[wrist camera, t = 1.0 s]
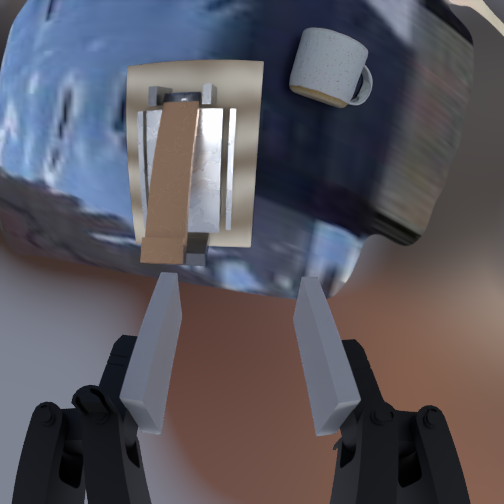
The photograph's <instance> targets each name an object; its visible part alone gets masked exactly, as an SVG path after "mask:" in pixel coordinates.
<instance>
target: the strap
mask: <svg viewBox="0 0 504 504" xmlns="http://www.w3.org/2000/svg"><path fill="white" fill-rule="evenodd" d="M200 106H201V92H175V93H165V95H164V104H163V109H162V114H161V119H160V124H159V129H158V135H157V141H156V147H155V153H154V159H153V166H152V173H151V181H150V189H149V198H148V207H147V218H146V230H145V237H142V244H141V262H143V263H155V264H178V265H186V255H187V235H188V219H189V205H190V192H191V181H192V170H193V160H194V151H195V142H196V134H197V125H198V118H199V110H200Z"/></svg>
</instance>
